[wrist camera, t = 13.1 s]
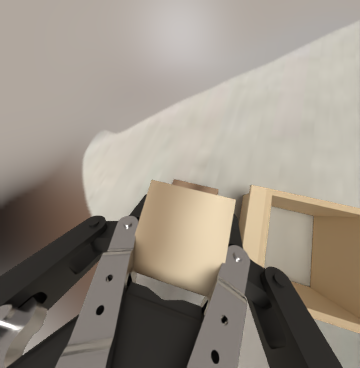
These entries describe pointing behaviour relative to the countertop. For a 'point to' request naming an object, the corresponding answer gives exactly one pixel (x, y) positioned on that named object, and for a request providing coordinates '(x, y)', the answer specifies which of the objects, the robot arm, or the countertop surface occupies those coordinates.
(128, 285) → the robot arm
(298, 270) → the countertop surface
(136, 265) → the block
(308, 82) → the countertop surface
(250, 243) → the carton
